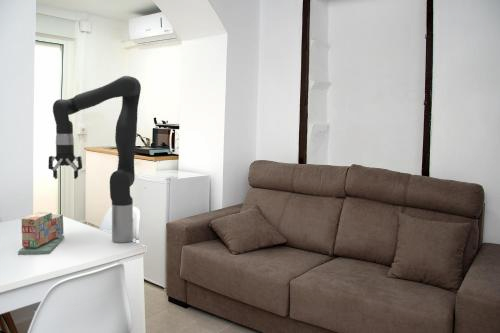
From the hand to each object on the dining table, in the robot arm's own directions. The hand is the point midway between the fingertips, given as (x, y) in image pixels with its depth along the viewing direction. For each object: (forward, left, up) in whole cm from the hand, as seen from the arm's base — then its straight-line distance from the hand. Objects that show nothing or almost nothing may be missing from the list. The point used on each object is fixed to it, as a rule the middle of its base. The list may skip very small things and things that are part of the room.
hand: (65, 178), depth 205 cm
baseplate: (+7, +13, -28) cm, 32 cm away
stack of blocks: (+7, +12, -26) cm, 29 cm away
